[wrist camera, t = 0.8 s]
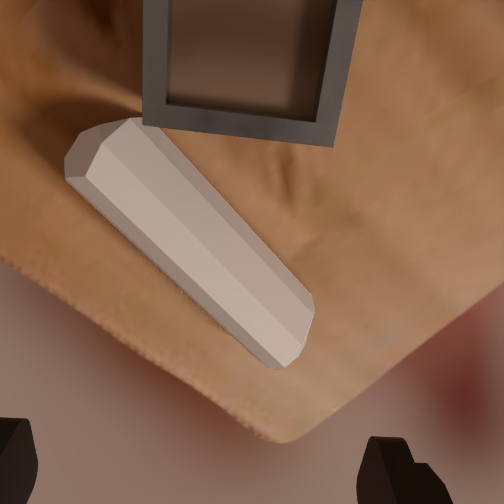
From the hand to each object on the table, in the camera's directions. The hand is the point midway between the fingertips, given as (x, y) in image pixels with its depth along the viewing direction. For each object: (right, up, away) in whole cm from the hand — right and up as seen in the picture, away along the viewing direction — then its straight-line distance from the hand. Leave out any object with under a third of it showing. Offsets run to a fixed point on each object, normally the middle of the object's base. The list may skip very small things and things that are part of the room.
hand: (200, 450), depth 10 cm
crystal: (-3, +6, +26) cm, 27 cm away
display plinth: (+1, +19, +18) cm, 27 cm away
